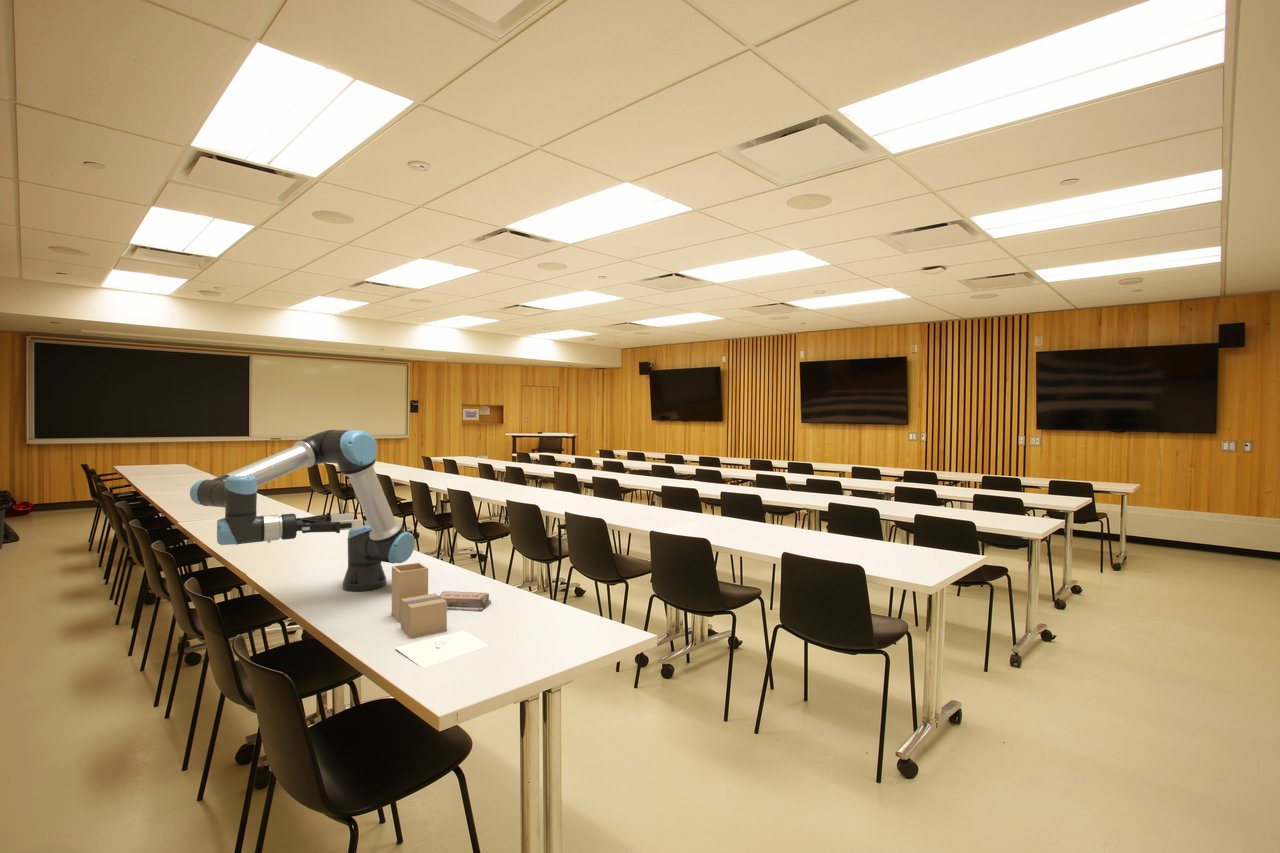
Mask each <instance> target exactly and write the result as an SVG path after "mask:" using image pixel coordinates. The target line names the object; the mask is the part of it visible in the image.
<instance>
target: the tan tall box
mask: <svg viewBox="0 0 1280 853" xmlns="http://www.w3.org/2000/svg"><path fill="white" fill-rule="evenodd" d="M427 594H429V567H427V566H426V565H424V564H423V563H421V562H415V563H414V562H413V563H407V564H399V565H392V566H391V616H392V617H393V618H394V619H395V620H396V621H397V622H398V623H401V599H404V598H409V597H415V596H421V595H427Z"/></svg>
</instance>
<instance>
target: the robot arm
mask: <svg viewBox="0 0 1280 853" xmlns="http://www.w3.org/2000/svg"><path fill="white" fill-rule="evenodd" d="M378 451H379V450H378V445H377V441H376V440H375V438H374V437H373V436H372V435H371V434H370V433H369V432H366V431H365V430H364V431H362V430H358V429H349V430H348V429H347V430H346V429H328V430H324V431H320V432H318V433H315V434H312V435H310V436H307V437H305V438H303V439H300V440H298V441H296V442H294V444H293V446H291V447H289V448H286V449H284V450H282V451H279V452H277V453H274V454H271V455H269V456H267V457H264V458H261V459H259V460H256V461H255V462H253V463H249V464H247V465H244V466H243V467H240V468H238V469H235V470H233V471H231V472H228V473H225V474H222V475H220V476H217V477H215V478H213V479H201V480H198V481H196V482H194V483H193V485H192V486H191V487H190V490H189V496H190V499H191V500H192V502H193V503H194V504H197V505H200V506H204V507H216V508H224V509H225V510H224V514H225V516H224V517H223V518H221V519H220V518H219V519H217V522H216V543H217V544H218V545H220V546H229V545H236V546H237V545H242V544H243V545H244V544H253V543H254V544H255V543H261V542H267V543H268V544H270V543H272V541H279V540H280V539H281V540H283V541H284V540H285V541H286V540H292V539H293V540H294V539H296V537H297V533H298V532H301V534H305V533H306V534H307V533H308V534H310V533H336V534H340V533H341V531H347V530H348V533H347V534H348V535H347V570H346V572H345V575H344V578H343V581H342V589H343V590H344V591H349V592H363V591H364V592H365V591H366V592H367V591H372V590H377V589H380V588H382V587H385V586H386V584H387V577H386V573H385V571H384V569H383V565H382V563H388V564H402V563H405V562H407V561H408V560H409V558H410V557H411V556H412V554H413V552H414V549H415V546H416V539H415V537H414V535H413V533H411V532H409V531H405V530H404V526H403V524H402V522H400V521H398V520H396V518H395V516H394V514H393V512H392V508H391V507H390V505H389V504H390V503H389V502H388V500H387V498H386V495H385V493H384V490H383V488H382V485H381V483H380V480H379V478H378V476H377V473H376V470H375V469H374V468H375V467H374V466H375V464H376V462H377V461H376V460H377V459H376V458H377V455H378V453H377V452H378ZM319 464H336V465H337V467H338V469H339V470H340V473H341V474H342V475H344V476H347V477H348V479H349V481H350V484H351V487H352V488H353V490H354V494H355V497H356V498H357V500H358V502H359V505H360V506H361V510H362V511H363V514H364V516H365V518H366V521H367V523H368V525H367V524H366V525H364V519H363V518H361V519H354V513H353V512H352V513H338V514H331V512H326V514H325V513H324V514H321V515H320V514H319V515H313V516H307V517H297V515H296V514H295V513H283V514H281V515H279V514H268V515H267V514H266V515H257V501H258V500H257V497H258V488H260V487H261V486H263V485H266V484H267V483H270V482H272V481H274V480H275V481H276V480H277V479H279V478H282V477H283V476H286V475H288V474H290V473H292V472H295V471H297V470H299V469H302V468H304V467H305V468H311V467H313V466H315V465H319Z"/></svg>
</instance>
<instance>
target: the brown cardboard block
mask: <svg viewBox="0 0 1280 853" xmlns="http://www.w3.org/2000/svg"><path fill="white" fill-rule="evenodd" d="M447 628H448V610H447V601H446V600H444V599H443V598H442V597H441V596H440V595H439V594H437V593H436V592H434V593H428V594H427V595H421V596H415V597H409V598H404V599H401V622H400V629H401V630H402V631H403V632H404V633H405V634H406V635H407V636H408V637H409V638H410V639H414V638H419V637H423V636H429V635H434V634H439V633H442V632H447V630H448V629H447Z"/></svg>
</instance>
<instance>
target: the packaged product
mask: <svg viewBox="0 0 1280 853" xmlns="http://www.w3.org/2000/svg"><path fill="white" fill-rule="evenodd" d="M439 596H441V597H442V598H443V599H444V600H446V601H447V611H458V610H459V611H460V610H461V611H463V612H483V611H484V610H486V608H487V607H489V606H490V605H491V604H492V601H491V599H490V594H489V593H487V592H475V591H454V590H443V591H442V592H441V593H440V595H439ZM482 610H483V611H482Z"/></svg>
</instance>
